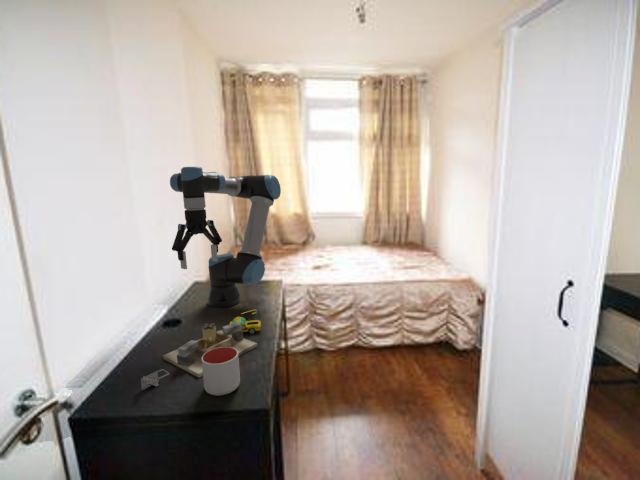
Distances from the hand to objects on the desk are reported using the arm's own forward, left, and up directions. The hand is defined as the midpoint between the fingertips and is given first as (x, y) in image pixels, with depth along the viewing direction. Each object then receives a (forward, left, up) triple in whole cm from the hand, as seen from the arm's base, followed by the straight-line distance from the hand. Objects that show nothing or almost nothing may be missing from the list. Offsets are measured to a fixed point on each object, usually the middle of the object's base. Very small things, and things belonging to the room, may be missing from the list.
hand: (200, 264), depth 136 cm
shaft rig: (+10, +17, -27) cm, 33 cm away
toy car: (-8, +14, -27) cm, 32 cm away
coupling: (+10, +17, -26) cm, 32 cm away
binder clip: (+32, +21, -27) cm, 47 cm away
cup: (+21, +37, -27) cm, 50 cm away
